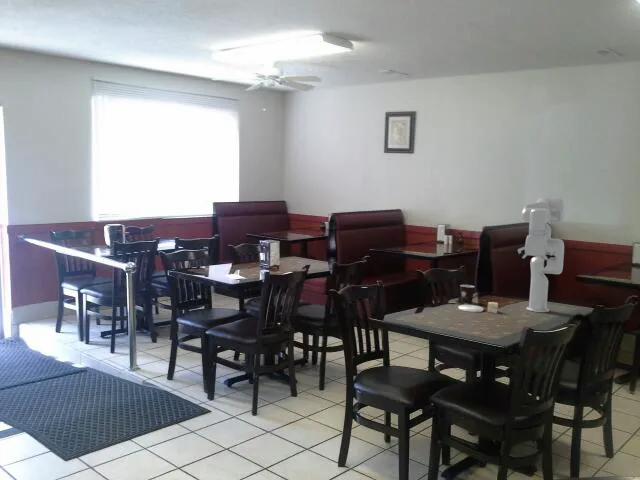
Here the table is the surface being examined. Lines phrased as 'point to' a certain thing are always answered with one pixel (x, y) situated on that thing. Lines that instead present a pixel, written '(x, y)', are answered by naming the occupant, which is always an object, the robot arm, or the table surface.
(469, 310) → the ceramic dish
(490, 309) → the maple block
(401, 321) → the table surface
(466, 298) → the coffee mug
